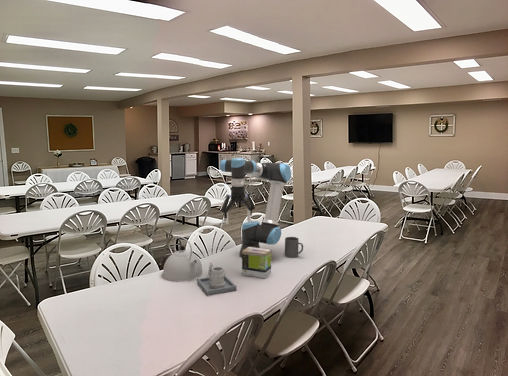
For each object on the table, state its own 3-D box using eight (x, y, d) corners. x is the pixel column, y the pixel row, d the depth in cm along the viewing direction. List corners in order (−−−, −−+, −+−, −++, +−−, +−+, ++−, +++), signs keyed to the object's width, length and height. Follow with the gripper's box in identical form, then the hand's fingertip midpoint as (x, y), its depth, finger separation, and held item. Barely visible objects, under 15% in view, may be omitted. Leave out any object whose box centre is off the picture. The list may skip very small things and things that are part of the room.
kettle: (212, 275, 223) (212, 238, 220) (179, 286, 208) (178, 246, 204) (187, 264, 241) (187, 230, 238) (155, 274, 225) (154, 236, 222)
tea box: (271, 273, 227) (271, 249, 225) (264, 279, 218) (265, 254, 216) (248, 269, 233) (248, 245, 231) (241, 274, 224) (241, 250, 222)
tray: (197, 283, 211) (197, 279, 211) (224, 278, 218) (224, 274, 218) (207, 295, 195) (207, 291, 195) (236, 290, 202) (236, 286, 202)
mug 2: (282, 256, 258) (282, 238, 257) (289, 252, 265) (290, 236, 264) (299, 260, 250) (299, 242, 248) (306, 256, 257) (306, 239, 255)
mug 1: (216, 290, 199) (216, 268, 198) (203, 283, 208) (202, 262, 206) (227, 286, 205) (227, 265, 203) (214, 280, 213) (214, 259, 211)
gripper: (219, 187, 206) (219, 226, 209) (260, 185, 217) (260, 221, 220) (214, 186, 213) (215, 223, 216) (255, 183, 224) (254, 219, 227)
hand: (238, 222), depth 218 cm, fingers open, 13 cm apart
